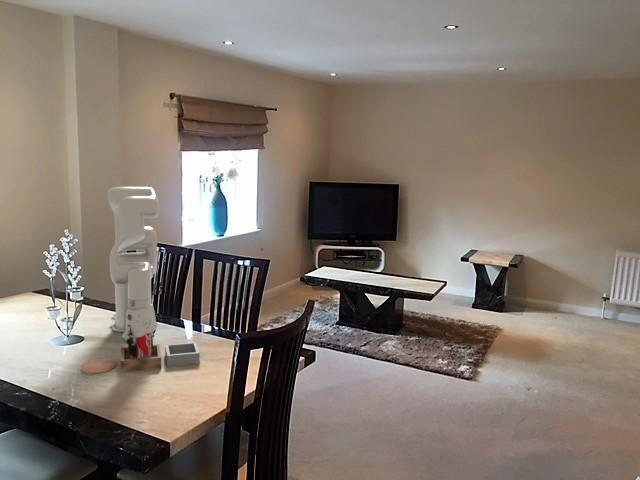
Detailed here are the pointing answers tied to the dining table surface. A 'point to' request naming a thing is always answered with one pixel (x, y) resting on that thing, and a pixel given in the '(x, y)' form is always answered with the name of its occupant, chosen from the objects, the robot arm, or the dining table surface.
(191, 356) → the grey box
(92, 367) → the coaster
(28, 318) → the dining table surface
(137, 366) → the walnut box
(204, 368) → the dining table surface
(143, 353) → the soda can
